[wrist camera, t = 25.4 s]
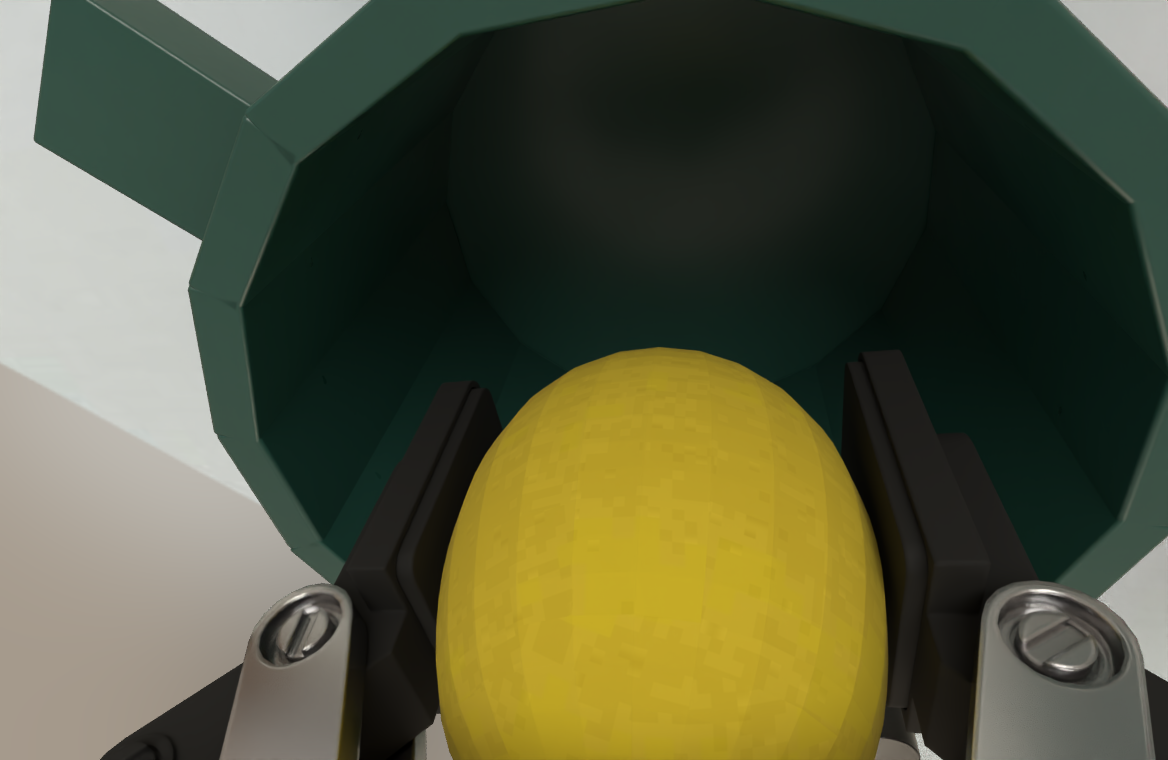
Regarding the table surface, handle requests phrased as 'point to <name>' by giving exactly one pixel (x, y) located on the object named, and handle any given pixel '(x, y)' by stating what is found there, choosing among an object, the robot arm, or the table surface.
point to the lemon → (662, 577)
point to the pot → (655, 227)
